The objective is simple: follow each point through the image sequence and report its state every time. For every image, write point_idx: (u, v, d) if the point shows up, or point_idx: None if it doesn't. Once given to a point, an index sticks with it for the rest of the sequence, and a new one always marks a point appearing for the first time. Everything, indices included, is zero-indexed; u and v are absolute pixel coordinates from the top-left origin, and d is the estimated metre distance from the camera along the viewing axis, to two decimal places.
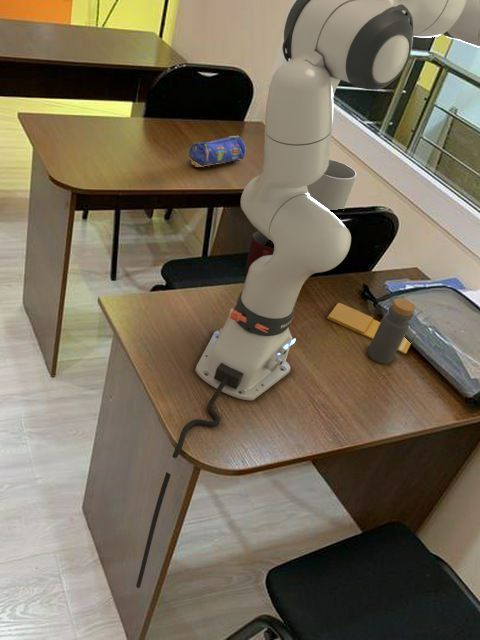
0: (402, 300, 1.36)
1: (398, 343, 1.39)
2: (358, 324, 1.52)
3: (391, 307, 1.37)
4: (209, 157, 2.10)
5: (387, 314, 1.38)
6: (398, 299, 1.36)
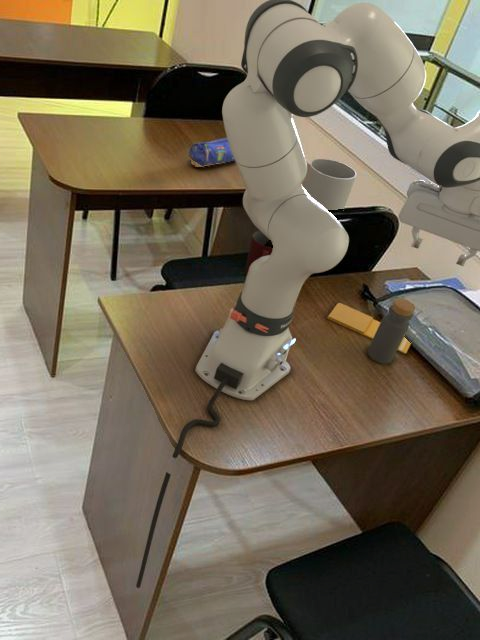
0: (402, 300, 1.36)
1: (398, 343, 1.39)
2: (358, 324, 1.52)
3: (391, 307, 1.37)
4: (209, 157, 2.10)
5: (387, 314, 1.38)
6: (398, 299, 1.36)
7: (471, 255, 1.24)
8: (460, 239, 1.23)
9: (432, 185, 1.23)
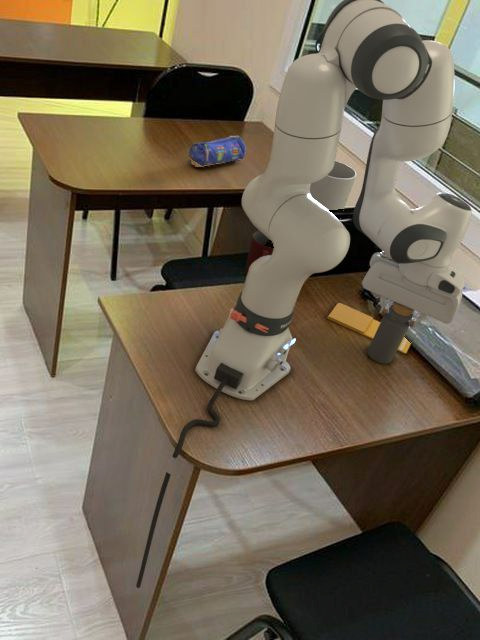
0: None
1: (398, 343, 1.39)
2: (358, 324, 1.52)
3: (391, 307, 1.37)
4: (209, 157, 2.10)
5: (387, 314, 1.39)
6: None
7: (421, 319, 1.34)
8: (418, 307, 1.32)
9: None
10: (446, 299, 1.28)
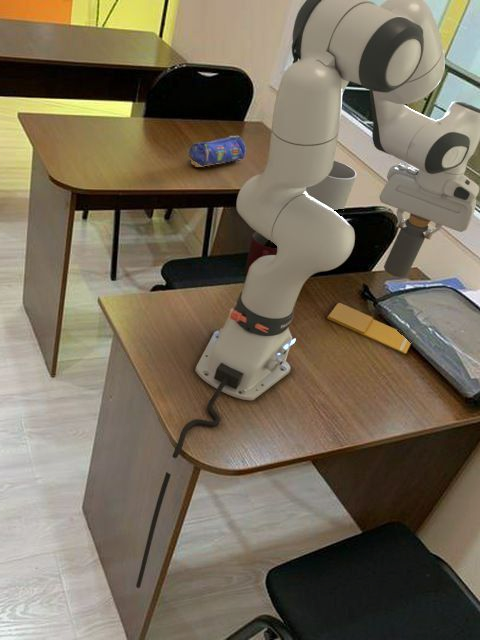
0: None
1: (414, 256, 1.45)
2: (358, 324, 1.52)
3: (408, 220, 1.43)
4: (209, 157, 2.10)
5: (403, 228, 1.45)
6: None
7: (437, 229, 1.40)
8: (434, 217, 1.39)
9: (409, 169, 1.38)
10: (460, 207, 1.35)
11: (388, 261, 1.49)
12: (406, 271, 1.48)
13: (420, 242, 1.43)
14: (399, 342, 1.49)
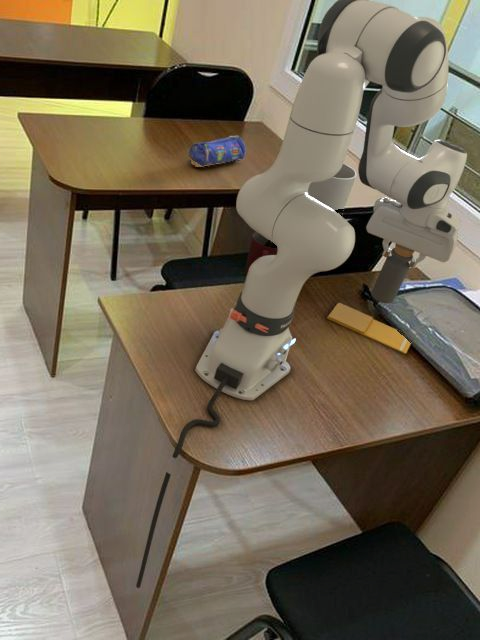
0: None
1: (399, 283, 1.51)
2: (358, 324, 1.52)
3: (393, 249, 1.49)
4: (209, 157, 2.10)
5: (389, 256, 1.51)
6: None
7: (421, 259, 1.46)
8: (418, 248, 1.44)
9: (394, 202, 1.44)
10: (443, 239, 1.41)
11: (375, 288, 1.55)
12: (392, 298, 1.54)
13: (405, 271, 1.49)
14: (399, 342, 1.49)
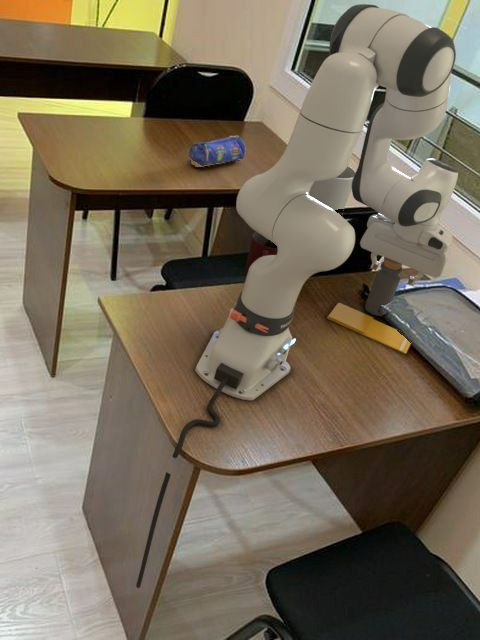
0: None
1: (391, 296, 1.54)
2: (358, 324, 1.52)
3: (382, 263, 1.52)
4: (209, 157, 2.10)
5: (379, 270, 1.54)
6: None
7: (419, 277, 1.48)
8: (410, 263, 1.47)
9: (387, 218, 1.47)
10: (435, 255, 1.43)
11: (368, 301, 1.57)
12: None
13: (395, 283, 1.52)
14: (399, 342, 1.49)
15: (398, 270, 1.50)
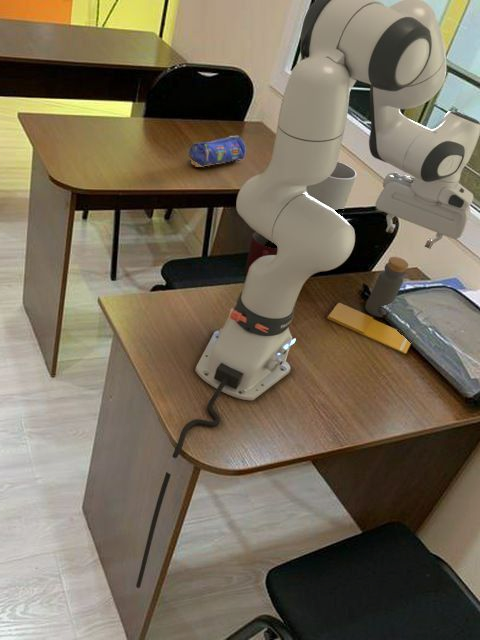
0: (397, 258, 1.51)
1: (393, 298, 1.54)
2: (358, 324, 1.52)
3: (387, 265, 1.52)
4: (209, 157, 2.10)
5: (383, 271, 1.54)
6: (393, 257, 1.51)
7: (437, 239, 1.42)
8: (428, 224, 1.41)
9: (405, 177, 1.40)
10: (455, 215, 1.37)
11: (369, 302, 1.57)
12: None
13: (398, 286, 1.52)
14: (399, 342, 1.49)
15: (402, 273, 1.50)
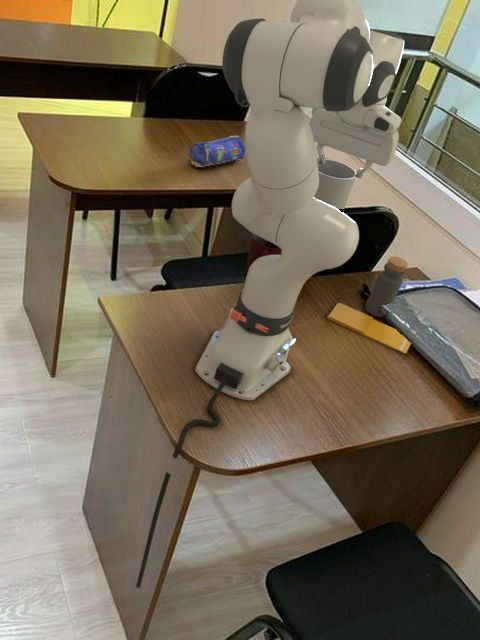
0: (396, 258, 1.52)
1: (392, 297, 1.54)
2: (358, 324, 1.52)
3: (386, 264, 1.52)
4: (209, 157, 2.10)
5: (383, 271, 1.54)
6: (392, 257, 1.52)
7: (367, 167, 1.38)
8: (357, 152, 1.37)
9: None
10: (382, 140, 1.33)
11: (369, 302, 1.57)
12: None
13: (398, 285, 1.52)
14: (399, 342, 1.49)
15: (401, 272, 1.50)
